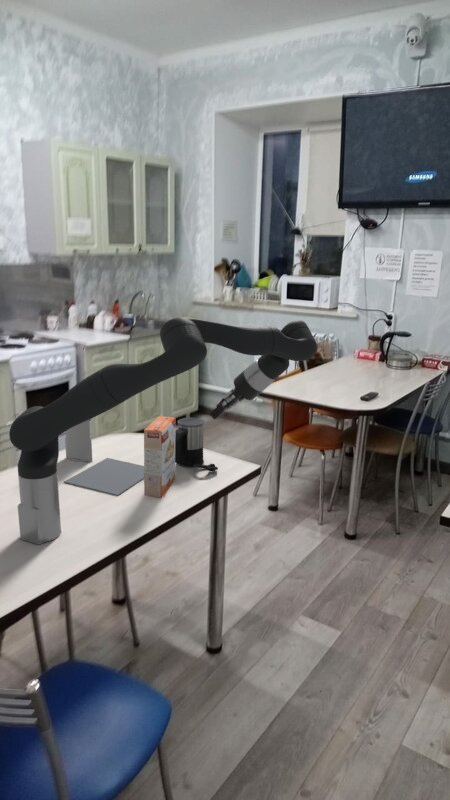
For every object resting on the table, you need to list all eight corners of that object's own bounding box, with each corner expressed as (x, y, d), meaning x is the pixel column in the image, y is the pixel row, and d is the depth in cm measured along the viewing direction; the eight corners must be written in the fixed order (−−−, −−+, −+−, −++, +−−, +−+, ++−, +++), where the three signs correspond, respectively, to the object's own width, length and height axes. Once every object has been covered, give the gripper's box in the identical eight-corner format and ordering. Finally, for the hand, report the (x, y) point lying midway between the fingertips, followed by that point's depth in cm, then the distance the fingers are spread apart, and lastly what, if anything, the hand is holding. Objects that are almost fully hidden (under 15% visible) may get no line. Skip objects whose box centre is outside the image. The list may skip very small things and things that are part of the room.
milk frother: (182, 456, 199) (182, 415, 194) (225, 461, 195) (227, 420, 190) (167, 471, 185) (167, 428, 181) (213, 478, 181) (214, 434, 177)
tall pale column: (62, 459, 192) (58, 397, 186) (68, 455, 196) (64, 394, 190) (90, 463, 190) (87, 400, 184) (96, 459, 194) (93, 397, 188)
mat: (117, 496, 167) (117, 494, 167) (64, 482, 175) (64, 481, 175) (157, 470, 186) (157, 468, 186) (107, 458, 194) (107, 457, 194)
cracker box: (163, 498, 166) (162, 431, 160) (143, 496, 167) (142, 429, 162) (176, 479, 179) (176, 416, 174) (158, 477, 181) (157, 415, 175)
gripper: (254, 396, 145) (210, 433, 154) (272, 384, 157) (230, 420, 165) (236, 373, 146) (193, 411, 154) (255, 363, 157) (214, 400, 166)
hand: (213, 416), depth 160 cm, fingers closed
